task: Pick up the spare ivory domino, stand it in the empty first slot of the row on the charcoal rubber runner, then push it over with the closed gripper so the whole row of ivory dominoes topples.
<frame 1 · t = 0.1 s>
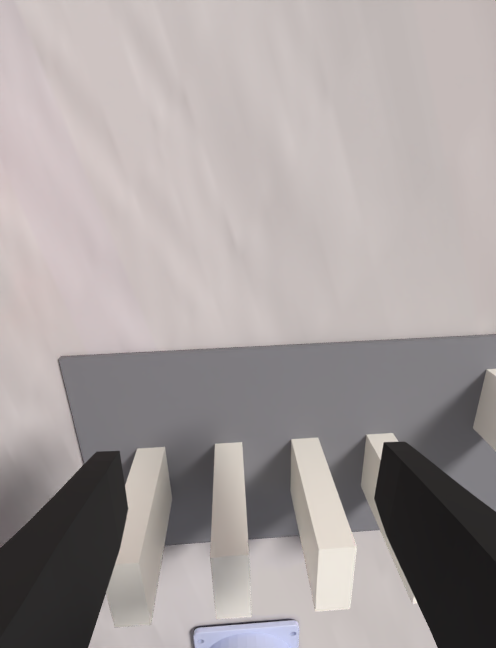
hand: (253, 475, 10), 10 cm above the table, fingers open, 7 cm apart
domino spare: (492, 398, 22), resting on runner mat
domino 3: (230, 469, 22), resting on runner mat
runner mat: (319, 447, 23), on the table
domino 4: (155, 474, 22), resting on runner mat
domino 2: (303, 465, 23), resting on runner mat
domino 1: (376, 460, 23), resting on runner mat
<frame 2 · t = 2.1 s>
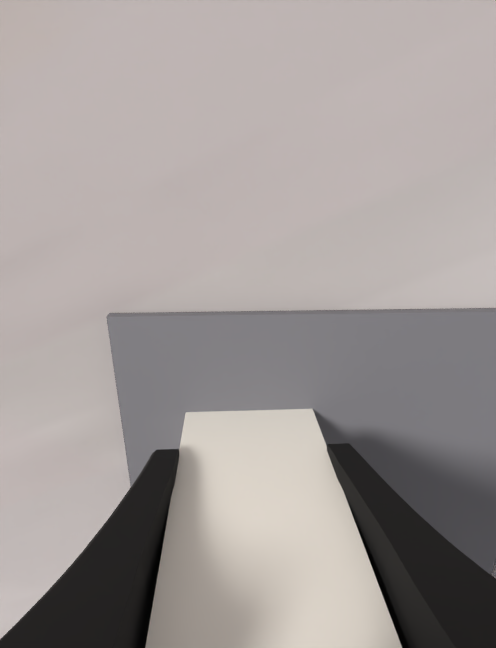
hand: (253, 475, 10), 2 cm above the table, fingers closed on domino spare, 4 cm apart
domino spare: (249, 431, 12), resting on runner mat, touching gripper
runner mat: (316, 615, 16), on the table
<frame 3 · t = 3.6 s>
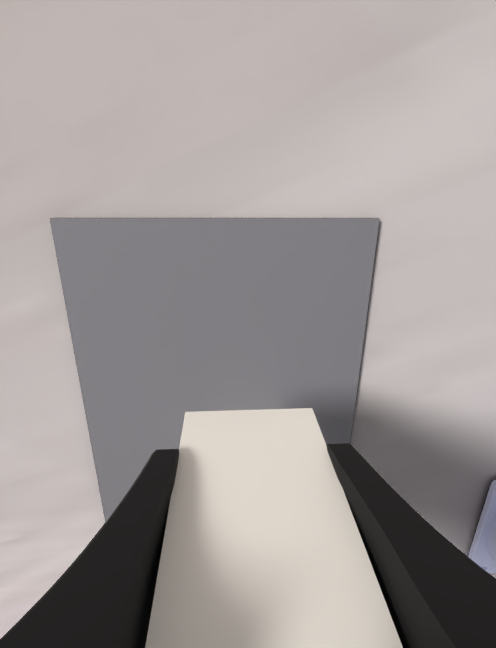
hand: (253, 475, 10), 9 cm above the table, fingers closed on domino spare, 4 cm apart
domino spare: (249, 430, 12), point 7 cm above the table, touching gripper
runner mat: (224, 471, 21), on the table
when the fingers open (3 cm above the table, at t = 4.9 s): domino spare stays where it is, resting on runner mat.
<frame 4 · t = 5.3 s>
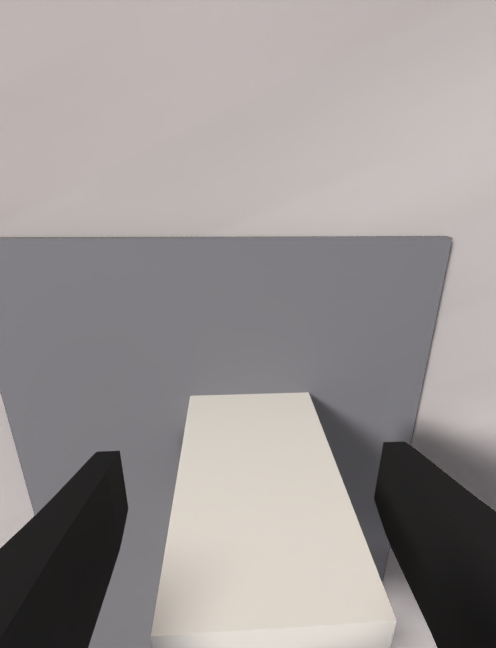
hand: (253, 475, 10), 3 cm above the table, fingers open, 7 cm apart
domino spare: (249, 414, 13), resting on runner mat
runner mat: (223, 567, 16), on the table
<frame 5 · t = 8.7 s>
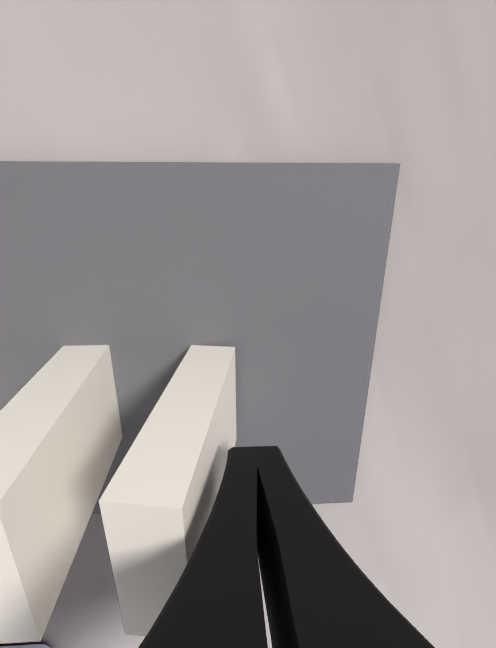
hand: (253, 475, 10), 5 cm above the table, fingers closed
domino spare: (215, 393, 14), resting on runner mat, tilted 9°
domino 1: (94, 393, 14), resting on runner mat
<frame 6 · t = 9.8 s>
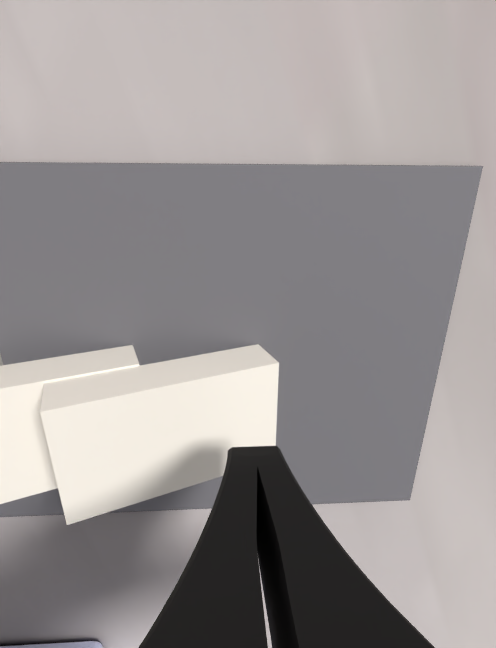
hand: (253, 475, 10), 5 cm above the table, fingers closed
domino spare: (266, 401, 14), point 1 cm above the table, tilted 69°, touching domino 1, runner mat
runner mat: (71, 367, 14), on the table
domino 1: (141, 403, 13), point 1 cm above the table, tilted 69°, touching domino 2, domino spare, runner mat
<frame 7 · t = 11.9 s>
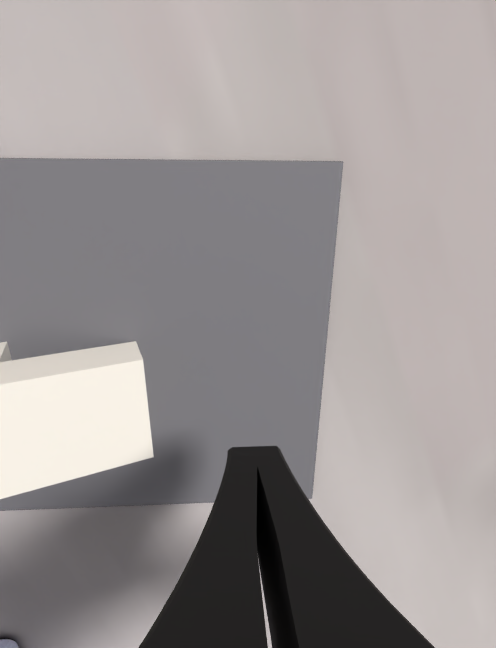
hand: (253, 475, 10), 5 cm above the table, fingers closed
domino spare: (144, 399, 14), point 1 cm above the table, tilted 69°, touching domino 1, runner mat
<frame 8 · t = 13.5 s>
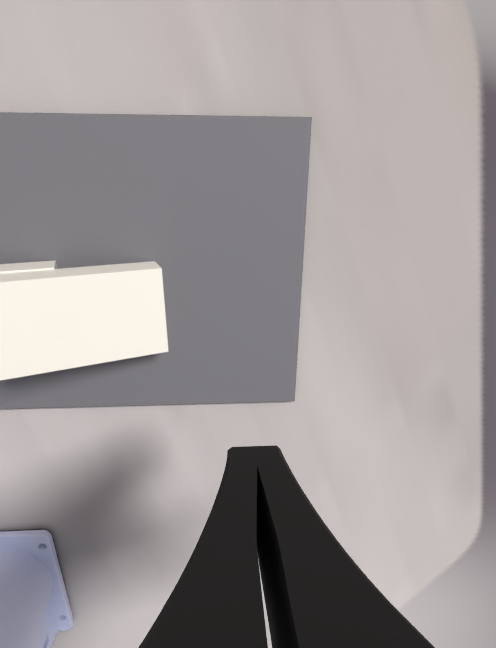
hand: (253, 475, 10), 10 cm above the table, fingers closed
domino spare: (161, 306, 18), point 1 cm above the table, tilted 69°, touching domino 1, runner mat
runner mat: (10, 280, 18), on the table
domino 1: (62, 306, 17), point 1 cm above the table, tilted 69°, touching domino 2, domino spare, runner mat
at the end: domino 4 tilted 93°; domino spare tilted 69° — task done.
